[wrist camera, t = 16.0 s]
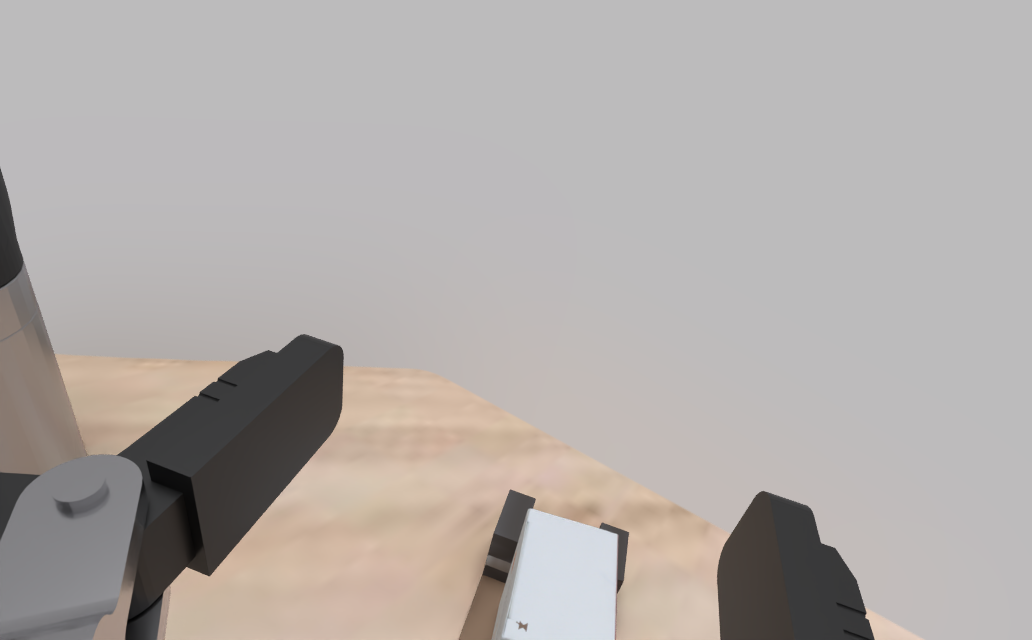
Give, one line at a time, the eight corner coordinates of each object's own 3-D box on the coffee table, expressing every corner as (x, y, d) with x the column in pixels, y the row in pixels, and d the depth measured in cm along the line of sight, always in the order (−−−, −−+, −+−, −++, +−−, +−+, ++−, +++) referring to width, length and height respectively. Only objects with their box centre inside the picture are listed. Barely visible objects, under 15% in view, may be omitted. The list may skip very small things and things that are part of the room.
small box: (563, 767, 30) (617, 676, 25) (467, 736, 30) (499, 640, 25) (576, 627, 37) (621, 531, 31) (498, 603, 37) (529, 504, 32)
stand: (425, 733, 31) (437, 684, 28) (496, 537, 43) (510, 487, 40) (574, 798, 30) (604, 754, 27) (605, 578, 42) (629, 530, 39)
